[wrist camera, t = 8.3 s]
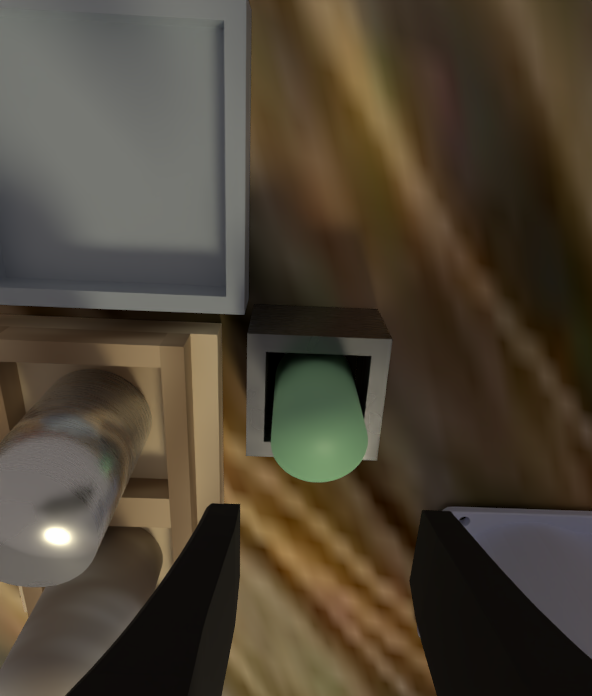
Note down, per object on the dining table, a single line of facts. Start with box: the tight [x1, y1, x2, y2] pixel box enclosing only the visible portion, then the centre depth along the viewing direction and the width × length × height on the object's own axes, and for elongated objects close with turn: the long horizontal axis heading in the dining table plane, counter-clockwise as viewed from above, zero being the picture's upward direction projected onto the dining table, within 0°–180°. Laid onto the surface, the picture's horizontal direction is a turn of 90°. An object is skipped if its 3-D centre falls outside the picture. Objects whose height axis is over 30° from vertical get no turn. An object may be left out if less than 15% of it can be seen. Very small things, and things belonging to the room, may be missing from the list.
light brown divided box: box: [0, 314, 224, 696], centre depth 18 cm, size 9×14×7 cm, turn 177°
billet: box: [0, 369, 152, 587], centre depth 16 cm, size 4×4×6 cm
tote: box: [0, 0, 252, 315], centre depth 16 cm, size 9×9×2 cm
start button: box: [271, 353, 368, 482], centre depth 16 cm, size 3×3×4 cm
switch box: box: [246, 304, 392, 460], centre depth 18 cm, size 5×5×3 cm
